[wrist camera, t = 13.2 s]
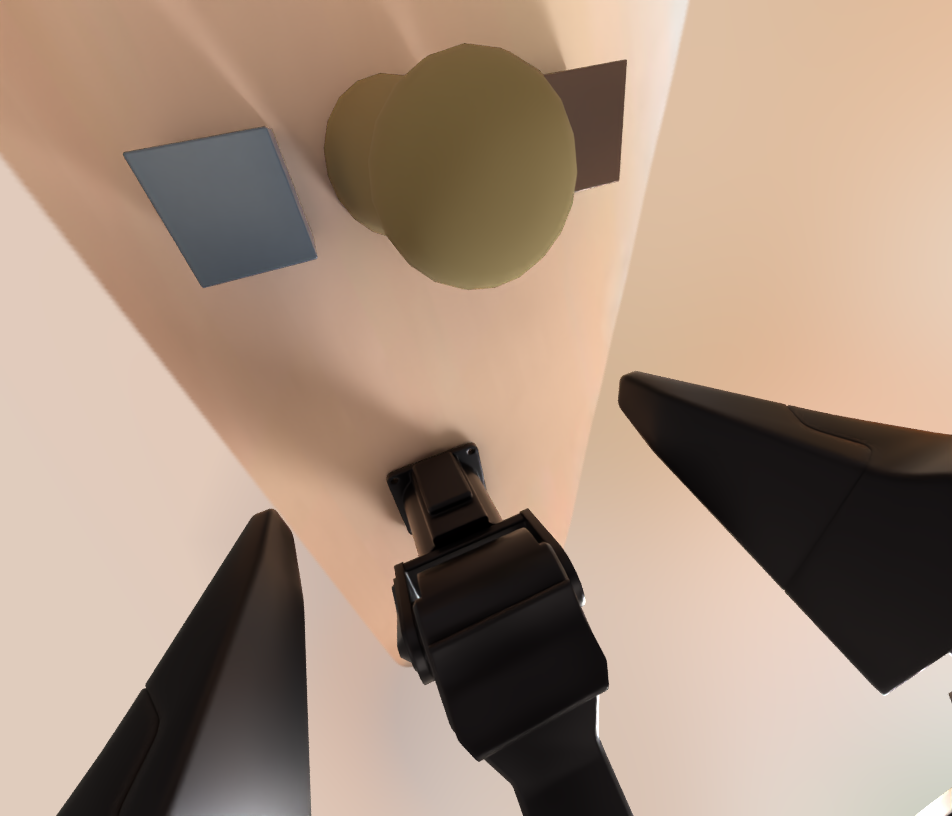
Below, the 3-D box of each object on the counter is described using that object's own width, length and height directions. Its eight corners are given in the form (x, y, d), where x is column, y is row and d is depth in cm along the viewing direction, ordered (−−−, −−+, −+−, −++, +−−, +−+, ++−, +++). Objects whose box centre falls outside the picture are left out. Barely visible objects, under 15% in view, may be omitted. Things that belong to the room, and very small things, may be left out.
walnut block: (569, 174, 20) (619, 181, 17) (498, 191, 19) (537, 202, 16) (569, 72, 18) (627, 58, 15) (487, 87, 17) (530, 76, 14)
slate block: (313, 237, 17) (318, 258, 14) (218, 260, 17) (201, 288, 14) (271, 127, 15) (265, 125, 12) (157, 149, 14) (120, 152, 11)
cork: (404, 265, 19) (491, 363, 11) (291, 161, 16) (292, 190, 7) (488, 165, 18) (655, 191, 10) (389, 29, 15) (522, -116, 6)
